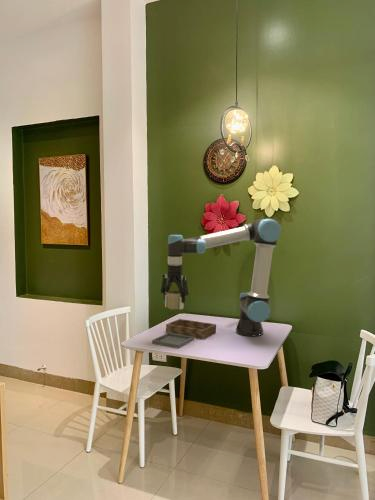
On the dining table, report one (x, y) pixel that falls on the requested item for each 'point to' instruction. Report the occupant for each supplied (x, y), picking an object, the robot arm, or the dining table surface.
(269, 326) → the dining table surface
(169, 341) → the tray
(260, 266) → the robot arm
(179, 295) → the flower pot
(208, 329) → the walled box
